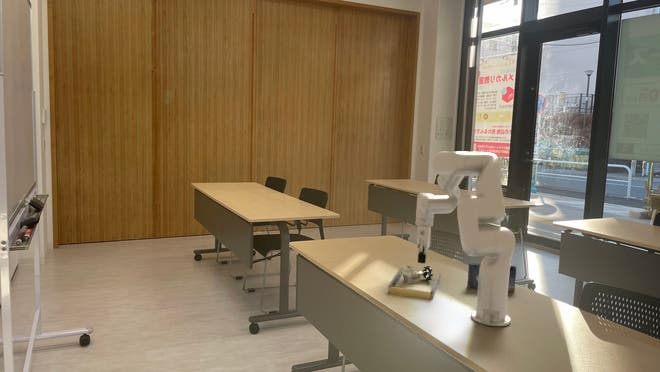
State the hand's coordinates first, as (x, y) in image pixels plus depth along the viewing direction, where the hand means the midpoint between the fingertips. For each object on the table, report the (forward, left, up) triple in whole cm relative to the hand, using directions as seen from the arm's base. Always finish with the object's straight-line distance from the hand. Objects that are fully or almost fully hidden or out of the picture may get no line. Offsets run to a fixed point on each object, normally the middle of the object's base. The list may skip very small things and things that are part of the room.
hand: (421, 262), depth 217 cm
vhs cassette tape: (-9, -29, -5) cm, 31 cm away
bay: (-18, 0, -5) cm, 19 cm away
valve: (-13, 0, -5) cm, 14 cm away
